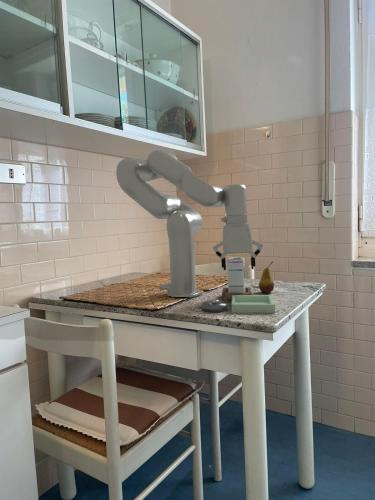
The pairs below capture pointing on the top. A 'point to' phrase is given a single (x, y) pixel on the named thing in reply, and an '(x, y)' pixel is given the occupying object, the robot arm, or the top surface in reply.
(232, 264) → the syrup box
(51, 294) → the top surface
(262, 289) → the fruit
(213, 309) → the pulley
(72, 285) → the top surface
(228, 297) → the collar
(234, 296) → the tray
